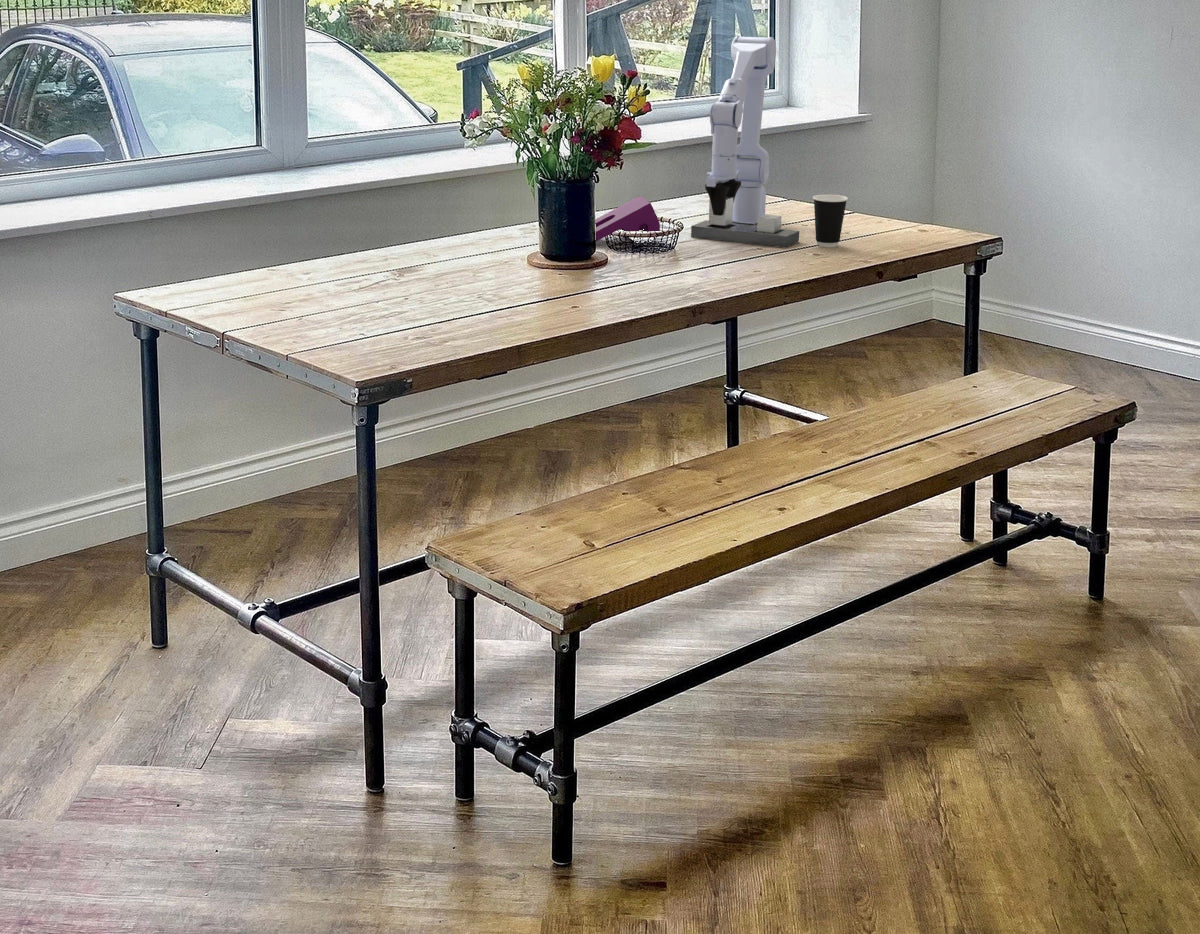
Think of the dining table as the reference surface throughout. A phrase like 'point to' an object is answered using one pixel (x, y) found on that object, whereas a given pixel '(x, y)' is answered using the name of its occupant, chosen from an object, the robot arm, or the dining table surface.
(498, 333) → the dining table surface
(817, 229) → the dixie cup
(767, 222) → the off-white rectangular block
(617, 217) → the mounting bracket
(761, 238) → the rail
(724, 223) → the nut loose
